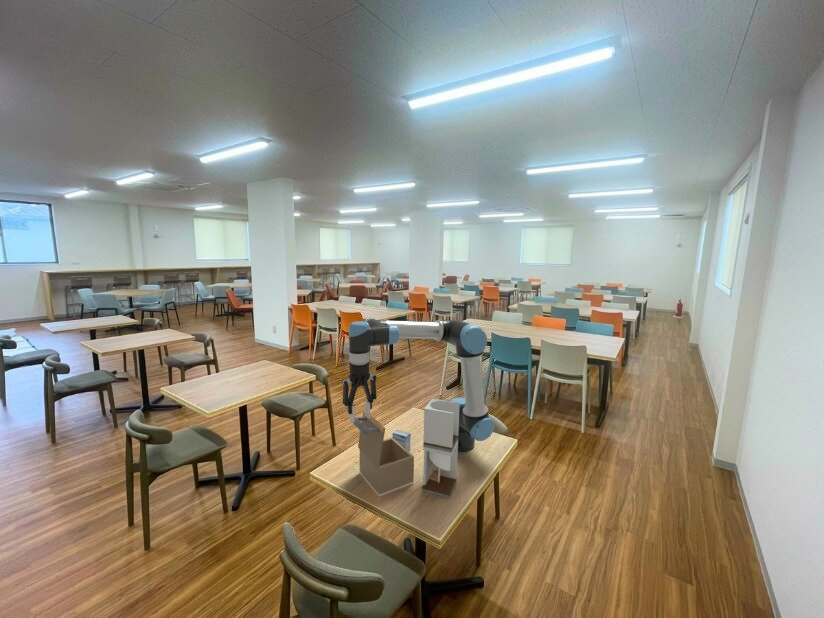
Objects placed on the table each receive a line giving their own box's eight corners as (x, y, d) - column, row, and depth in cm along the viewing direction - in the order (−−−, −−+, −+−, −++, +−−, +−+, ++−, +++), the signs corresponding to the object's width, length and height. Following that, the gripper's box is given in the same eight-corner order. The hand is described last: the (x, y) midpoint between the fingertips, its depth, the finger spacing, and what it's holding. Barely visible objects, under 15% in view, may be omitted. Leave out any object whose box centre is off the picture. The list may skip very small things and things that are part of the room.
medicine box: (391, 449, 174) (392, 432, 173) (396, 445, 178) (396, 429, 177) (406, 454, 170) (406, 437, 169) (410, 449, 174) (410, 432, 173)
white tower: (422, 491, 144) (424, 408, 138) (430, 476, 154) (432, 398, 148) (450, 498, 140) (453, 413, 135) (456, 482, 150) (459, 402, 144)
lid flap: (379, 468, 138) (360, 471, 134) (359, 446, 153) (342, 449, 149) (385, 428, 137) (367, 429, 133) (365, 410, 152) (348, 411, 148)
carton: (392, 462, 164) (392, 437, 162) (413, 483, 149) (414, 456, 147) (359, 473, 155) (359, 447, 153) (378, 496, 140) (379, 468, 138)
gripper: (377, 356, 146) (377, 410, 149) (332, 363, 135) (333, 421, 139) (385, 360, 139) (386, 417, 143) (339, 369, 129) (340, 429, 133)
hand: (360, 419), depth 141 cm, fingers open, 6 cm apart
